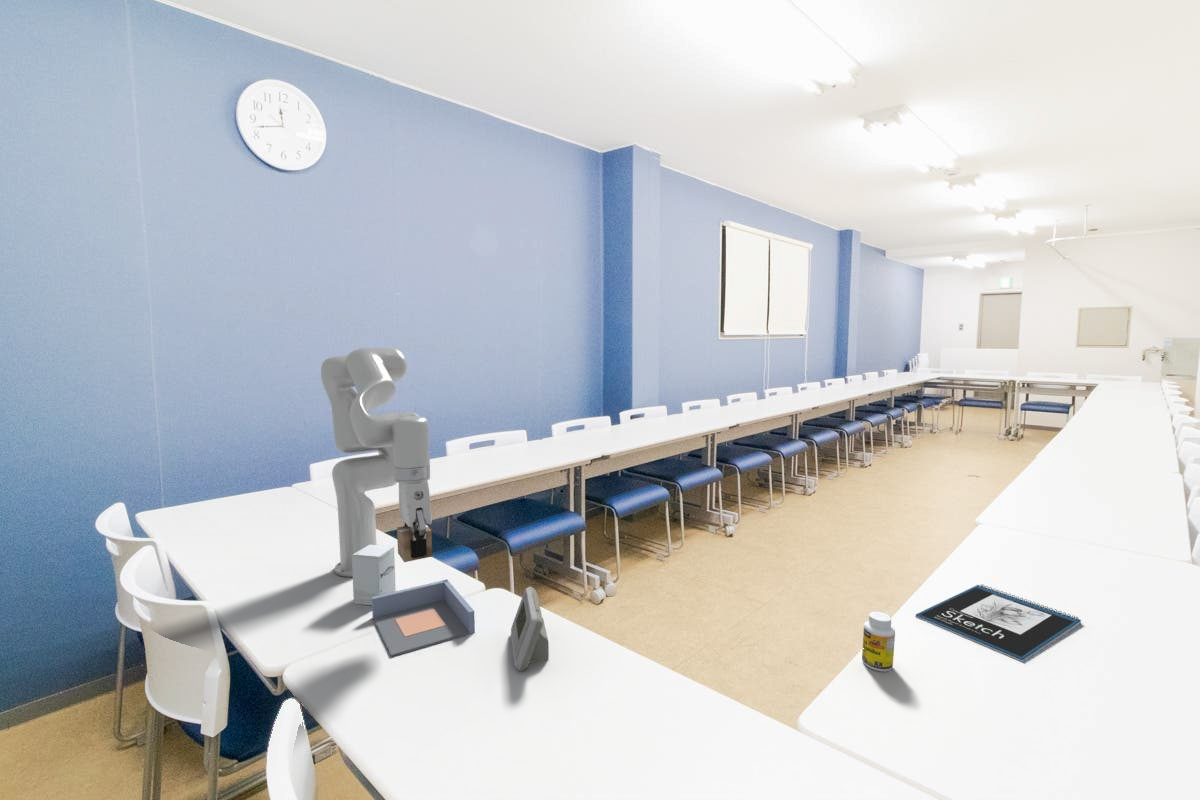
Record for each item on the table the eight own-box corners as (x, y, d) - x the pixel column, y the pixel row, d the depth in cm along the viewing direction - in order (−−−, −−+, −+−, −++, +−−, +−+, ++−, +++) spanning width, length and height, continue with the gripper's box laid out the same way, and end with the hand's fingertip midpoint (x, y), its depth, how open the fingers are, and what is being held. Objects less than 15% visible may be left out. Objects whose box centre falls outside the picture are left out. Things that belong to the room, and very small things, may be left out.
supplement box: (380, 607, 135) (377, 556, 133) (352, 604, 136) (350, 554, 135) (396, 593, 142) (395, 545, 140) (370, 590, 143) (368, 543, 142)
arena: (372, 617, 129) (371, 597, 129) (447, 598, 139) (447, 579, 138) (391, 657, 113) (390, 633, 113) (474, 632, 123) (474, 610, 122)
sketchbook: (915, 619, 130) (915, 611, 130) (979, 589, 146) (979, 582, 146) (1022, 664, 112) (1022, 655, 112) (1082, 625, 128) (1082, 616, 127)
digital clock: (512, 630, 124) (511, 584, 123) (552, 630, 124) (552, 584, 123) (500, 674, 108) (499, 622, 107) (546, 673, 108) (546, 621, 107)
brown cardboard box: (424, 547, 128) (424, 522, 128) (432, 556, 123) (431, 530, 122) (397, 553, 125) (396, 527, 124) (404, 562, 120) (403, 535, 119)
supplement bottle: (855, 660, 112) (858, 612, 111) (874, 654, 115) (877, 607, 114) (879, 675, 107) (882, 625, 106) (899, 668, 110) (902, 619, 108)
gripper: (440, 478, 117) (443, 561, 119) (419, 463, 131) (421, 536, 133) (404, 483, 113) (407, 568, 115) (386, 467, 127) (389, 543, 129)
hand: (415, 550), depth 124 cm, fingers closed on brown cardboard box, 6 cm apart
